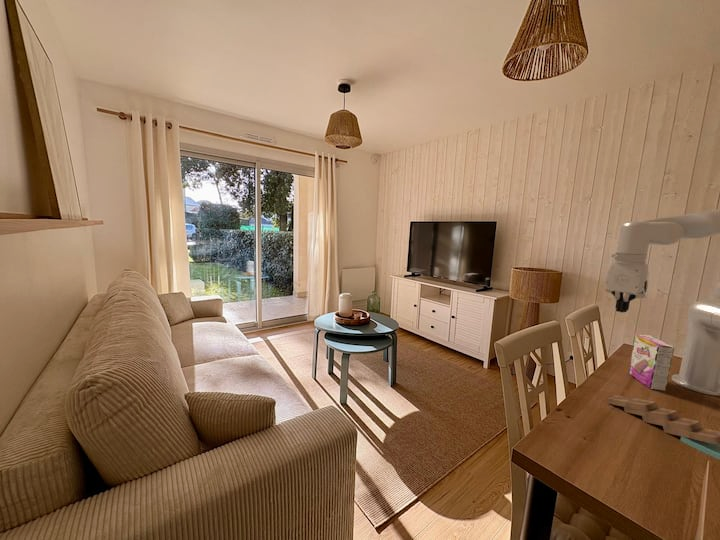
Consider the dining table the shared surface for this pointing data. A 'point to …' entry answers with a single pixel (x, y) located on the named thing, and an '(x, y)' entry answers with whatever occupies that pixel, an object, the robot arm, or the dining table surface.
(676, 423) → the domino
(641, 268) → the robot arm
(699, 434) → the domino
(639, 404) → the domino
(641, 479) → the dining table surface
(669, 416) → the domino
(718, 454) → the teal domino
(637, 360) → the candy bar box
